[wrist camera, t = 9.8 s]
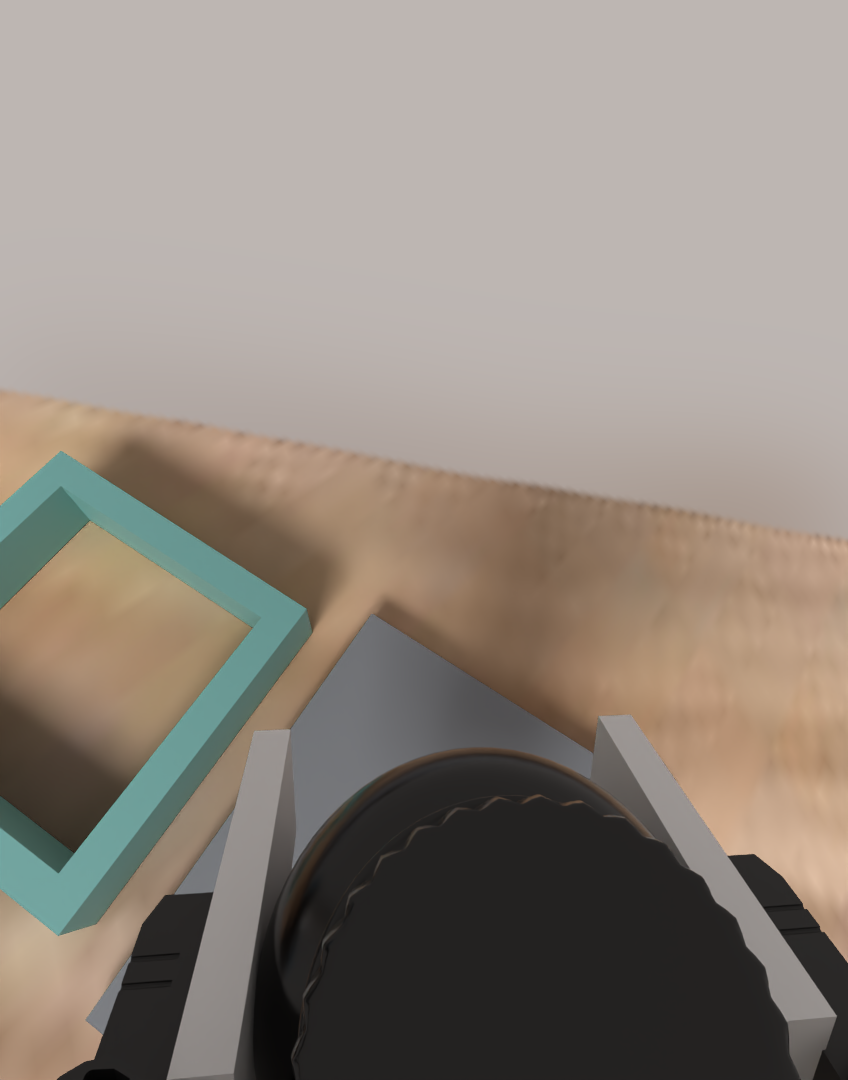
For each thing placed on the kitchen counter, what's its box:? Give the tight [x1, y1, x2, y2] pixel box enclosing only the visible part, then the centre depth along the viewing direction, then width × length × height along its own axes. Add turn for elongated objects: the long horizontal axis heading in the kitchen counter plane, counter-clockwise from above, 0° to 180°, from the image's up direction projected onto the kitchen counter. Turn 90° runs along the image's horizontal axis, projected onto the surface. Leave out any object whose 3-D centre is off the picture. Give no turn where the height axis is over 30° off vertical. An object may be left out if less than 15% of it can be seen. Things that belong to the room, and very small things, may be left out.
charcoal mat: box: [86, 614, 593, 1034], centre depth 22 cm, size 14×16×1 cm
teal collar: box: [0, 451, 312, 936], centre depth 24 cm, size 12×12×3 cm
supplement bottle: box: [253, 747, 801, 1080], centre depth 11 cm, size 7×7×12 cm
